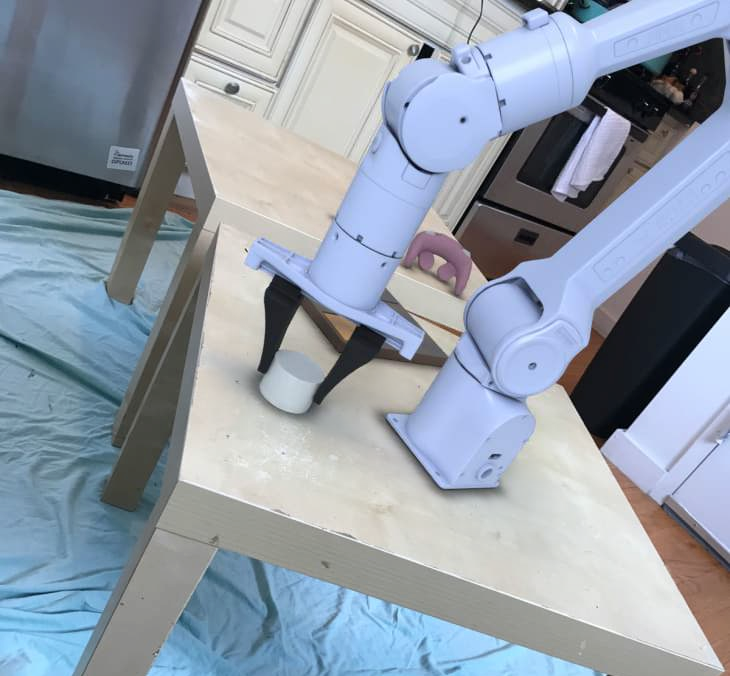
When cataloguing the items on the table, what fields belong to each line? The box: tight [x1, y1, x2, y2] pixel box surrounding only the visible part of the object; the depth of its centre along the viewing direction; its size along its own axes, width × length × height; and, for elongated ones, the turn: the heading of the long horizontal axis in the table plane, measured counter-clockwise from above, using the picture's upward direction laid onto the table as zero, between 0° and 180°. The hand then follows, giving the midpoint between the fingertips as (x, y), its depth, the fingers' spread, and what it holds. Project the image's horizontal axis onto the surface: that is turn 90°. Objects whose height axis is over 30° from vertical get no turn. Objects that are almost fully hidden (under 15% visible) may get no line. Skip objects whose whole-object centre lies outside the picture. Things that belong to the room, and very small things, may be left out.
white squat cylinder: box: [259, 348, 326, 415], centre depth 61 cm, size 4×4×3 cm
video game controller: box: [403, 229, 473, 296], centre depth 107 cm, size 10×5×7 cm, turn 84°
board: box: [300, 287, 449, 368], centre depth 83 cm, size 16×16×1 cm
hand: (291, 383), depth 61 cm, fingers closed on white squat cylinder, 4 cm apart
